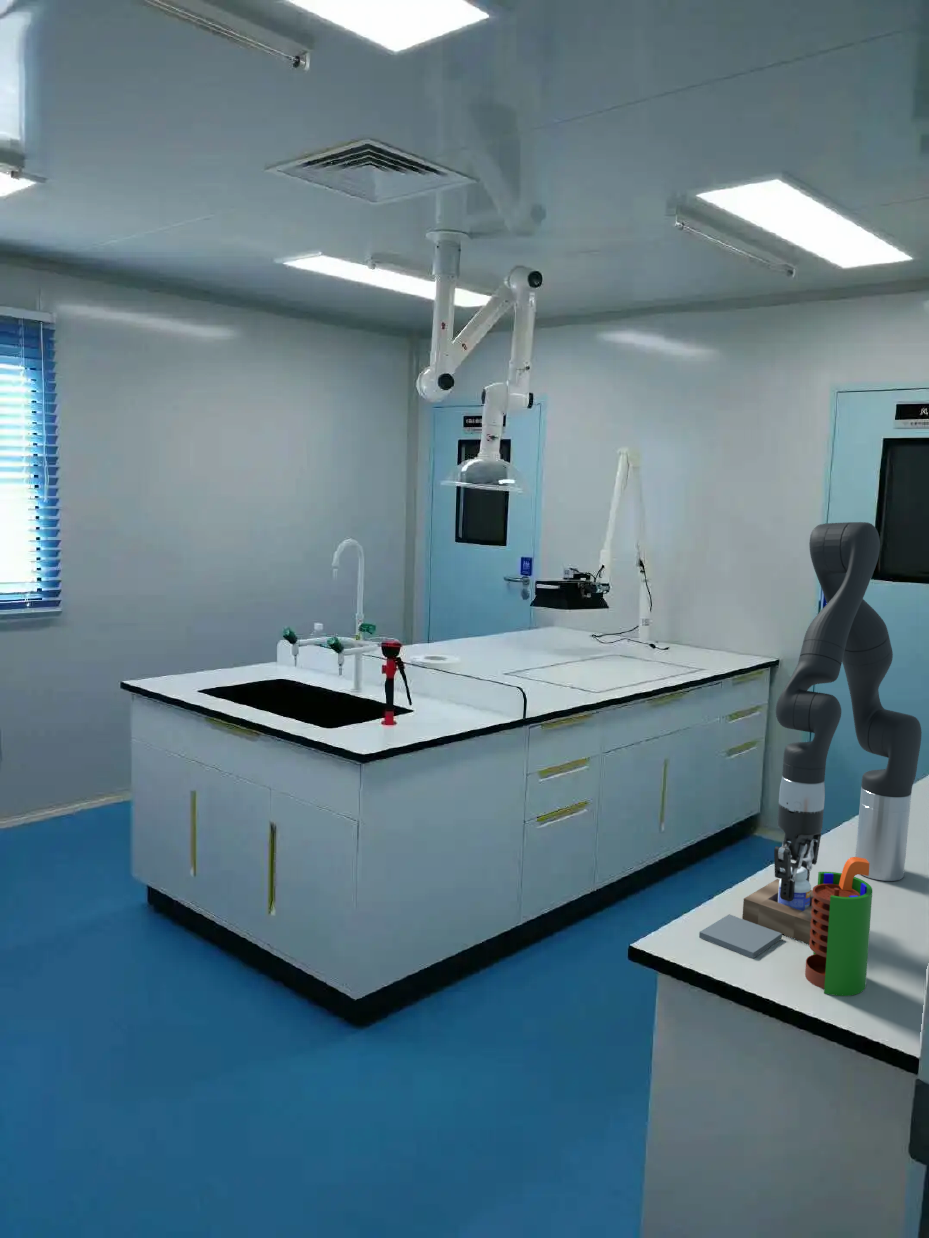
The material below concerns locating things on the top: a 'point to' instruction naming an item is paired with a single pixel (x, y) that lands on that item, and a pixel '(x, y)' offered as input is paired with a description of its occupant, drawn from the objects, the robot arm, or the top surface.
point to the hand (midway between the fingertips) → (794, 894)
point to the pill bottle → (798, 891)
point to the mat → (740, 936)
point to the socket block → (777, 913)
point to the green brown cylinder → (840, 930)
